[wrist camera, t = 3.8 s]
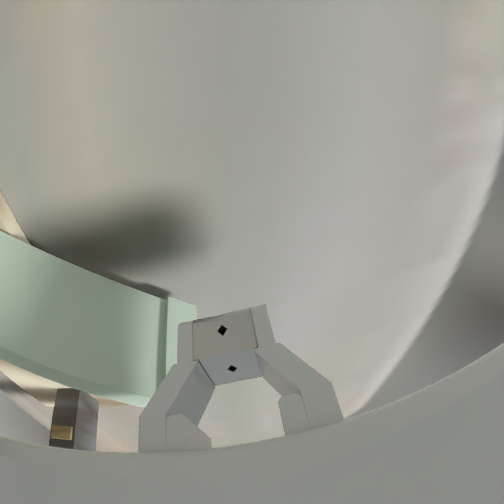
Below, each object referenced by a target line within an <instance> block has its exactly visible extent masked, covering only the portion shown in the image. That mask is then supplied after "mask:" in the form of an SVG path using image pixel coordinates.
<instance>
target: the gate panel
mask: <svg viewBox="0 0 504 504" xmlns="http://www.w3.org/2000/svg"><path fill="white" fill-rule="evenodd" d="M193 320H197V306H194V305H191V304H188V303H185V302H183V301H180V300H177V299H174V298H171V297H168V298H167V300H164V299H161V298H159V297H156V296H153V295H150V294H148V293H145V292H142V291H139V290H137V289H134V288H131V287H129V286H126V285H123V284H121V283H118V282H116V281H113V280H111V279H108V278H105V277H103V276H100V275H98V274H95V273H93V272H91V271H88V270H86V269H83V268H81V267H79V266H76V265H74V264H71V263H69V262H67V261H65V260H62V259H60V258H58V257H55V256H53V255H51V254H49V253H46V252H44V251H42V250H40V249H38V248H35V247H33V246H31V245H29V244H27V243H25V242H23V241H21V240H19V239H16V238H14V237H12V236H10V235H8V234H6V233H4V232H2V231H0V359H2V360H4V361H6V362H8V363H10V364H13V365H15V366H17V367H19V368H22V369H24V370H26V371H29V372H31V373H33V374H36V375H38V376H41V377H43V378H46V379H49V380H51V381H54V382H57V383H60V384H62V385H65V386H68V387H71V388H74V389H77V390H80V391H83V392H86V393H90V394H93V395H96V396H100V397H103V398H107V399H110V400H114V401H118V402H122V403H126V404H130V405H134V406H138V407H143V408H145V407H146V405H147V404H148V402H149V401H150V399H151V398H152V396H153V395H154V393H155V392H156V390H157V388H158V387H159V385H160V384H161V382H162V381H163V379H164V378H165V376H166V375H167V373H168V372H169V370H170V369H171V367H172V366H173V364H177V341H178V325H179V323H182V322H187V321H193Z"/></svg>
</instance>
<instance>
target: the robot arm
mask: <svg viewBox="0 0 504 504" xmlns="http://www.w3.org/2000/svg"><path fill="white" fill-rule="evenodd" d="M262 376H263V378H264V379H265V380H266V381H267V382H268V383H269V384H270V385H271V386H272V387H273V388H274V389H275V390H276V391H277V392H278V393H279V394H280V395H281V396H282V397H281V398H280V399H279V401H278V403H279V408H280V413H281V418H282V423H283V427H284V432H285V436H282V437H277V438H273V439H268V440H263V441H257V442H252V443H246V444H240V445H233V446H226V447H219V448H212V444H211V438H209V437H208V436H207V435H206V434H205V433H204V432H202V431H201V430H200V429H199V428H198V427H197V426H198V424H199V422H200V419H201V417H202V415H203V413H204V411H205V409H206V406H207V404H208V402H209V400H210V398H211V396H212V393H213V391H214V389H215V386H217V385H221V384H226V383H231V382H236V381H241V380H246V379H252V378H257V377H262ZM0 504H504V343H503V344H502V345H500V346H498V347H497V348H495V349H494V350H492V351H491V352H489V353H487V354H486V355H484V356H483V357H481V358H479V359H478V360H476V361H474V362H473V363H471V364H469V365H467V366H466V367H464V368H462V369H460V370H458V371H457V372H455V373H453V374H451V375H449V376H447V377H445V378H443V379H441V380H440V381H437V382H435V383H434V384H431V385H429V386H427V387H425V388H423V389H421V390H419V391H417V392H414V393H412V394H410V395H408V396H405V397H403V398H401V399H398V400H396V401H393V402H391V403H389V404H387V405H384V406H381V407H379V408H376V409H373V410H371V411H368V412H365V413H362V414H359V415H356V416H354V417H350V418H347V419H344V418H343V415H342V412H341V409H340V406H339V404H338V401H337V398H336V395H335V392H334V389H333V386H332V383H331V382H330V381H329V380H327V379H326V378H325V377H323V376H322V375H321V374H319V373H318V372H317V371H316V370H314V369H313V368H312V367H310V366H309V365H308V364H306V363H305V362H304V361H303V360H301V359H300V358H299V357H297V356H296V355H295V354H294V353H292V352H291V351H290V350H289V349H287V348H286V347H285V346H284V345H282V344H281V343H275V339H274V335H273V331H272V327H271V323H270V320H269V316H268V312H267V308H266V305H265V304H264V305H260V306H256V307H251V309H250V308H247V309H242V310H238V311H234V312H230V313H226V314H222V315H219V316H213V317H208V318H203V319H197V320H193V321H187V322H182V323H179V325H178V341H177V364H173V366H172V367H171V369H170V370H169V372H168V373H167V375H166V376H165V378H164V379H163V381H162V382H161V384H160V385H159V387H158V388H157V390H156V392H155V393H154V395H153V396H152V398H151V399H150V401H149V402H148V404H147V405H146V407H145V408H144V410H143V411H142V413H141V414H140V416H139V444H138V453H124V452H100V451H86V450H76V449H67V448H59V447H52V446H45V445H39V444H34V443H28V442H24V441H18V440H14V439H10V438H6V437H1V436H0Z"/></svg>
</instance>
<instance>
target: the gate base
mask: <svg viewBox="0 0 504 504" xmlns="http://www.w3.org/2000/svg"><path fill="white" fill-rule="evenodd" d="M0 231H2V232H4V233H6V234H8V235H10V236H12V237H14V238H16V239H19V240H21V241H23V242H25V243H27V244H29V245H30V243H29V241H28V240H27V238H26V236H25V235H24V233H23V231H22V230H21V228H20V226H19V225H18V223H17V221H16V219H15V218H14V216H13V214H12V212H11V210H10V208H9V207H8V205H7V203H6V201H5V199H4V197H3V195H2V193H1V191H0ZM0 371H2V372H3V373H4V374H5V375H6V376H7V377H9V378H10V379H11V380H12V381H13V382H15V383H16V384H17V385H18V386H20V387H21V388H22V389H24V390H25V391H26V392H28V393H29V394H30V395H32V396H33V397H34V398H36V399H37V400H38V401H40V402H41V403H43V404H44V405H45V406H54V410H53V417H52V424H51V432H50V440H49V446H52V447H59V448H67V449H76V450H86V451H96V434H97V421H98V409H99V406H119V405H130V404H126V403H122V402H118V401H114V400H110V399H107V398H103V397H100V396H96V395H93V394H90V393H86V392H83V391H80V390H77V389H74V388H71V387H68V386H65V385H62V384H60V383H57V382H54V381H51V380H49V379H46V378H43V377H41V376H38V375H36V374H33V373H31V372H29V371H26V370H24V369H22V368H19V367H17V366H15V365H13V364H10V363H8V362H6V361H4V360H2V359H0Z"/></svg>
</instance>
